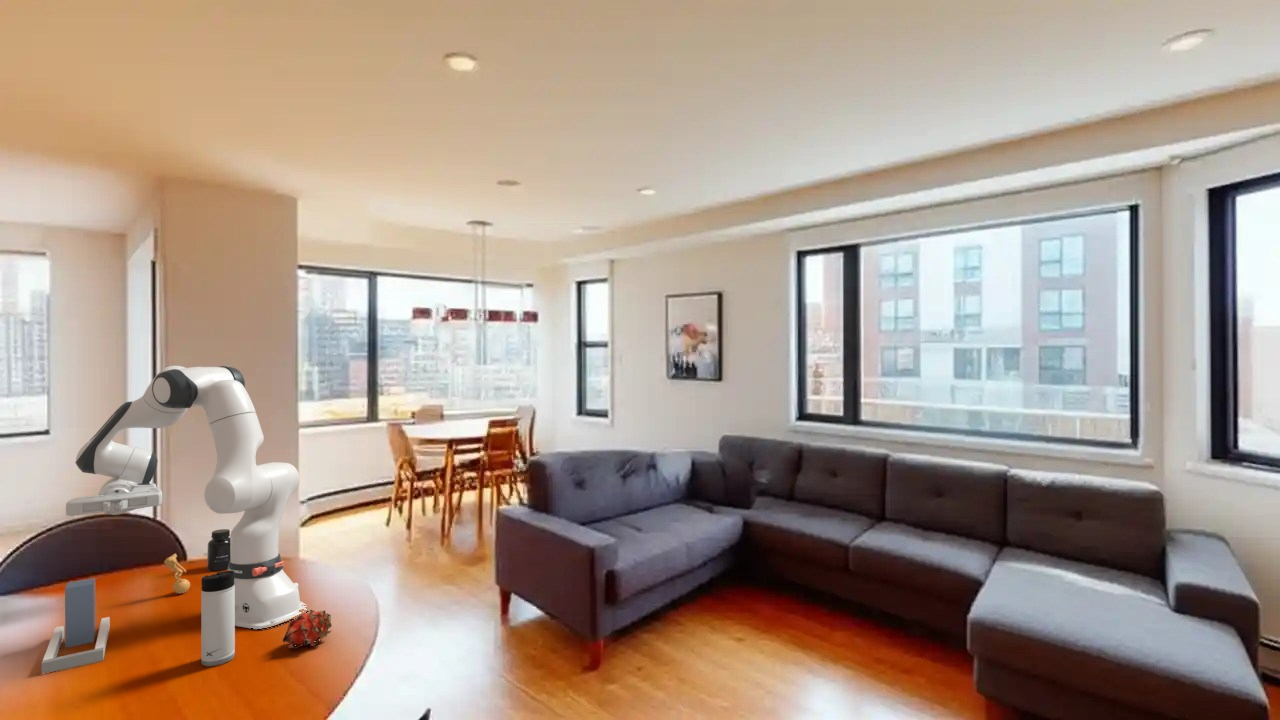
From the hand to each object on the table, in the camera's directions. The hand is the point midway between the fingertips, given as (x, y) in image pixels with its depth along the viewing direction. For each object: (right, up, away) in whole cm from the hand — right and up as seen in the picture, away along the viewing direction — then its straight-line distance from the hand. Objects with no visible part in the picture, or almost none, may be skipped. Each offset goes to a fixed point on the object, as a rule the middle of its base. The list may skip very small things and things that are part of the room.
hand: (114, 508), depth 164 cm
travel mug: (+45, -29, -24) cm, 58 cm away
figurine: (+7, -28, +13) cm, 32 cm away
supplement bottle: (+5, -28, +34) cm, 44 cm away
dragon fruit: (+61, -29, -17) cm, 69 cm away
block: (+6, -28, -16) cm, 33 cm away
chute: (+8, -28, -19) cm, 35 cm away
